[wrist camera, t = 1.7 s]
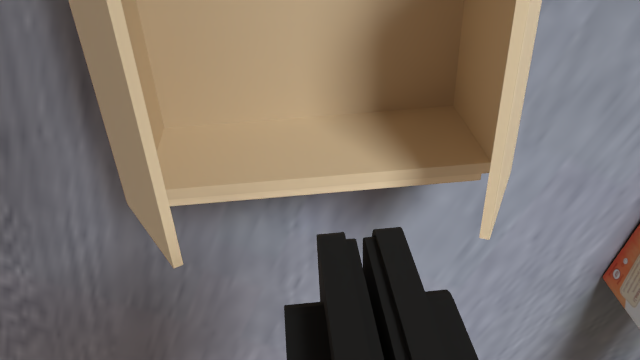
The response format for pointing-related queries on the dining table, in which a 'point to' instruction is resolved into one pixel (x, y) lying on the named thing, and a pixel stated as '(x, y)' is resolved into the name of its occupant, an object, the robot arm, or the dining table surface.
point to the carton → (318, 93)
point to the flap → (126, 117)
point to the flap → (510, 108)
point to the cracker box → (627, 276)
